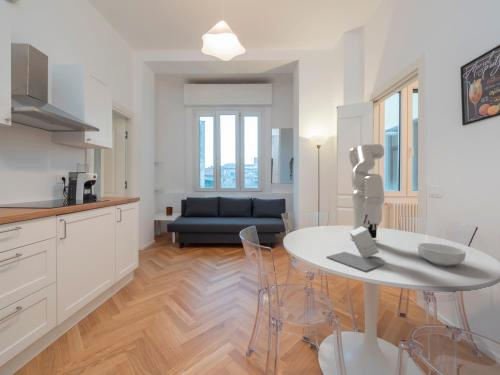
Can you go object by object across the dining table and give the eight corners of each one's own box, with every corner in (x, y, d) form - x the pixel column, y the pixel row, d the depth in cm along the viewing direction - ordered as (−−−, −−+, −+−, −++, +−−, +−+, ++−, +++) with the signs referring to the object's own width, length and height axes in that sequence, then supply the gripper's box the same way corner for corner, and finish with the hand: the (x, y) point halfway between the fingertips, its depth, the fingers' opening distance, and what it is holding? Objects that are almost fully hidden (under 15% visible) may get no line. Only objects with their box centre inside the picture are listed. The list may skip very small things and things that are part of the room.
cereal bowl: (475, 271, 96) (476, 255, 96) (430, 268, 100) (430, 252, 99) (449, 257, 113) (449, 243, 113) (411, 255, 116) (411, 241, 116)
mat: (344, 252, 120) (344, 251, 120) (383, 265, 103) (383, 263, 103) (326, 257, 113) (326, 256, 113) (365, 271, 96) (365, 270, 96)
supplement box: (373, 247, 118) (362, 225, 118) (379, 252, 111) (368, 229, 111) (359, 253, 119) (348, 231, 119) (365, 258, 112) (353, 235, 112)
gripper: (374, 199, 122) (373, 234, 122) (356, 200, 114) (356, 237, 114) (388, 200, 115) (388, 237, 116) (371, 202, 107) (371, 241, 108)
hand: (372, 237), depth 115 cm, fingers closed
